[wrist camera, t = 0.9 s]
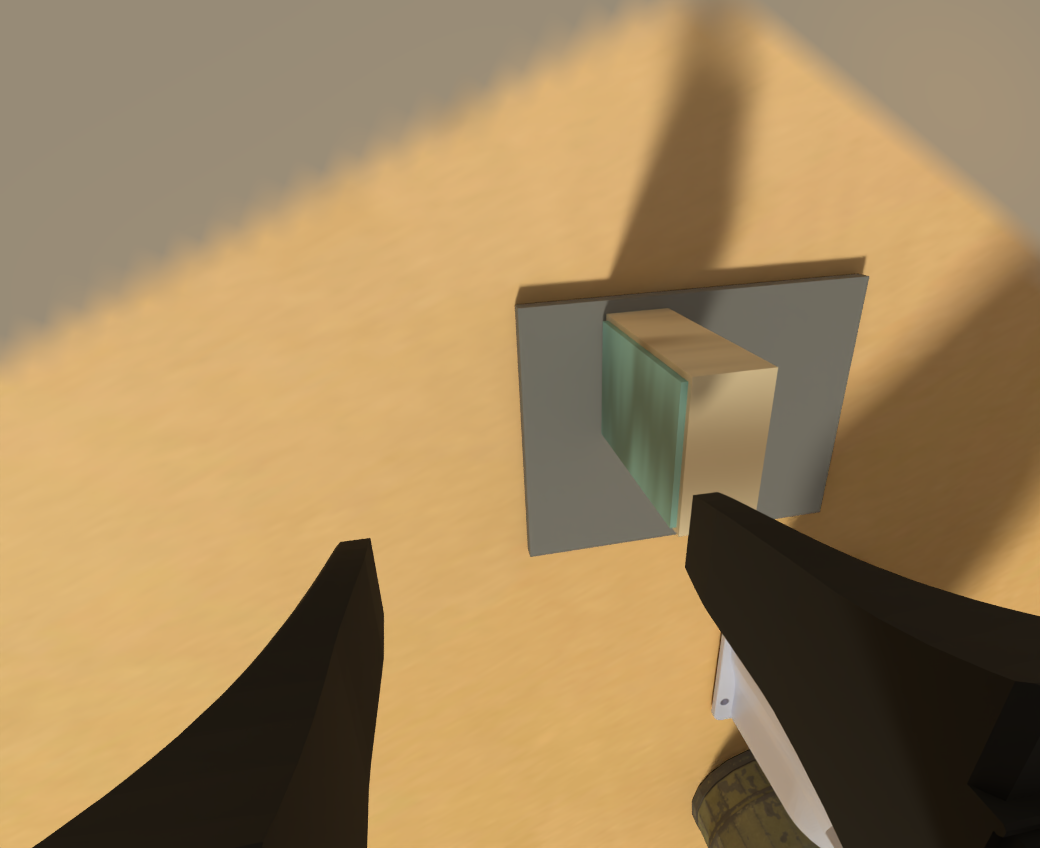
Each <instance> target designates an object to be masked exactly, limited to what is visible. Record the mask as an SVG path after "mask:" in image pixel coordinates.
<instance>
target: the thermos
mask: <svg viewBox="0 0 1040 848" xmlns="http://www.w3.org/2000/svg"><path fill="white" fill-rule="evenodd" d="M692 815H693V817H694V820H695V822H696V824H697V826H698V827H699V829H700V831H701V833H702V835H703V837H704V839H705V842H706V844H707V846H708V848H820V847H819V846H817V845H816V844H815V843H814V842H812V841H811V840H810V839H809V838H808V837H807V836H806V835H805V834H804V833H803V832H802V831H801V830H800V829H799V828H798V827H797V826H796V824H795V823H794V822H793V820H792V819H791V818H790V816H789V815H788V813H787V811H786V810H785V808H784V806H783V805H782V803H781V801H780V799H779V798H778V796H777V794H776V793H775V791H774V789H773V788H772V786H771V784H770V782H769V781H768V779H767V777H766V776H765V774H764V772H763V771H762V769H761V767H760V765H759V764H758V762H757V760H756V759H755V757H754V755H753V753H752V752H751V750H748V751H746V752H744V753H742V754H740V755H738V756H736V757H734V758H732V759H730V760H727V761H726V762H725V763H723V764H722V765H721V766H719V767H718V768H717V769H715V770H714V771H713V772H711V773H710V774H709V776H708V777H707V778H706V779H705V780H704V781H703V783H702V784H701V785H700V786H699V787H698V789H697V792H696V794H695V796H694V798H693V800H692Z"/></svg>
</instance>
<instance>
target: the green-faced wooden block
mask: <svg viewBox="0 0 1040 848" xmlns="http://www.w3.org/2000/svg"><path fill="white" fill-rule="evenodd" d="M777 372H778V367H777V366H775V365H773V364H771V363H769V362H768V361H766V360H764V359H762V358H760V357H758V356H756V355H755V354H753V353H751V352H749V351H747V350H745V349H743V348H742V347H740V346H738V345H736V344H734V343H732V342H730V341H729V340H727V339H725V338H723V337H721V336H719V335H717V334H715V333H714V332H712V331H710V330H708V329H706V328H704V327H702V326H701V325H699V324H697V323H695V322H693V321H691V320H689V319H688V318H686V317H684V316H682V315H680V314H678V313H676V312H675V311H673V310H671V309H669V308H663V309H653V310H642V311H632V312H621V313H611V314H606V321H603V346H602V423H601V434H602V435H603V437H604V438H605V439H606V441H607V442H608V444H609V445H610V446H611V448H612V449H613V451H614V452H615V453H616V455H617V456H618V457H619V459H620V460H621V462H622V463H623V464H624V466H625V467H626V468H627V470H628V471H629V473H630V474H631V475H632V477H633V478H634V479H635V481H636V482H637V484H638V485H639V486H640V488H641V489H642V490H643V492H644V493H645V495H646V496H647V497H648V499H649V500H650V501H651V503H652V504H653V506H654V507H655V508H656V510H657V511H658V513H659V514H660V515H661V517H662V518H663V519H664V521H665V522H666V524H667V525H668V526H669V528H673V530H674V531H675V532H676V534H677V535H678V536H679V537H681V536H687V535H689V526H690V517H691V508H692V499H693V495H698V494H705V493H713V492H720V493H722V494H724V495H727V496H729V497H731V498H733V499H735V500H737V501H739V502H741V503H743V504H745V505H747V506H749V507H751V508H753V509H755V510H757V503H758V497H759V490H760V484H761V477H762V470H763V464H764V457H765V451H766V444H767V438H768V431H769V425H770V418H771V412H772V405H773V398H774V392H775V385H776V379H777Z"/></svg>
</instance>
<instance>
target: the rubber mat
mask: <svg viewBox="0 0 1040 848" xmlns="http://www.w3.org/2000/svg"><path fill="white" fill-rule="evenodd" d="M868 280H869V276H866V275H862V274H849V275H838V276H827V277H816V278H805V279H794V280H783V281H772V282H761V283H750V284H739V285H728V286H717V287H706V288H695V289H684V290H673V291H662V292H651V293H640V294H629V295H618V296H607V297H596V298H585V299H574V300H563V301H552V302H541V303H530V304H519V305H515V317H516V336H517V354H518V373H519V392H520V410H521V429H522V447H523V466H524V485H525V503H526V522H527V541H528V550H529V554H530V557H533V556H540V555H546V554H553V553H559V552H565V551H572V550H578V549H585V548H591V547H598V546H604V545H611V544H617V543H623V542H630V541H636V540H643V539H649V538H656V537H662V536H668V535H675V534H676V532H675V531H674V530H673V528H669V526H668V525H667V524H666V522H665V521H664V519H663V518H662V517H661V515H660V514H659V513H658V511H657V510H656V508H655V507H654V506H653V504H652V503H651V501H650V500H649V499H648V497H647V496H646V495H645V493H644V492H643V490H642V489H641V488H640V486H639V485H638V484H637V482H636V481H635V479H634V478H633V477H632V475H631V474H630V473H629V471H628V470H627V468H626V467H625V466H624V464H623V463H622V462H621V460H620V459H619V457H618V456H617V455H616V453H615V452H614V451H613V449H612V448H611V446H610V445H609V444H608V442H607V441H606V439H605V438H604V437H603V435H602V434H601V423H602V346H603V321H606V314H611V313H621V312H632V311H642V310H653V309H663V308H669V309H671V310H673V311H675V312H676V313H678V314H680V315H682V316H684V317H686V318H688V319H689V320H691V321H693V322H695V323H697V324H699V325H701V326H702V327H704V328H706V329H708V330H710V331H712V332H714V333H715V334H717V335H719V336H721V337H723V338H725V339H727V340H729V341H730V342H732V343H734V344H736V345H738V346H740V347H742V348H743V349H745V350H747V351H749V352H751V353H753V354H755V355H756V356H758V357H760V358H762V359H764V360H766V361H768V362H769V363H771V364H773V365H775V366H777V367H778V372H777V379H776V385H775V392H774V398H773V405H772V412H771V418H770V425H769V431H768V438H767V444H766V451H765V457H764V464H763V470H762V477H761V484H760V490H759V497H758V503H757V511H759V512H761V513H763V514H765V515H767V516H769V517H771V518H773V519H778V518H784V517H791V516H797V515H804V514H810V513H816V512H820V509H821V504H822V499H823V494H824V490H825V485H826V480H827V475H828V471H829V466H830V461H831V456H832V452H833V447H834V442H835V437H836V433H837V428H838V423H839V418H840V414H841V409H842V404H843V399H844V394H845V390H846V385H847V380H848V375H849V371H850V366H851V361H852V356H853V352H854V347H855V342H856V337H857V333H858V328H859V323H860V318H861V313H862V309H863V304H864V299H865V294H866V290H867V285H868Z"/></svg>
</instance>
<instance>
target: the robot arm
mask: <svg viewBox="0 0 1040 848" xmlns="http://www.w3.org/2000/svg"><path fill="white" fill-rule="evenodd" d="M685 568H686V570H687V573H688V575H689V577H690V579H691V581H692V583H693V585H694V588H695V590H696V591H697V593H698V595H699V597H700V599H701V601H702V603H703V605H704V607H705V608H706V610H707V611H708V613H709V615H710V616H711V618H712V619H713V621H714V622H715V624H716V625H717V627H718V628H719V630H720V631H721V633H722V638H721V645H720V652H719V660H718V667H717V674H716V681H715V689H714V696H713V703H712V714H713V716H714V718H715V719H717V720H723V719H728V718H732V719H733V721H734V723H735V724H736V726H737V728H738V730H739V731H740V733H741V735H742V736H743V738H744V740H745V742H746V743H747V745H748V747H749V748H750V750H751V752H752V753H753V755H754V757H755V759H756V760H757V762H758V764H759V765H760V767H761V769H762V771H763V772H764V774H765V776H766V777H767V779H768V781H769V782H770V784H771V786H772V788H773V789H774V791H775V793H776V794H777V796H778V798H779V799H780V801H781V803H782V805H783V806H784V808H785V810H786V811H787V813H788V815H789V816H790V818H791V819H792V820H793V822H794V823H795V824H796V826H797V827H798V828H799V829H800V830H801V831H802V832H803V833H804V834H805V835H806V836H807V837H808V838H809V839H810V840H811V841H812V842H814V843H815V844H816V845H817V846H819V847H820V848H1040V616H1036V615H1032V614H1028V613H1024V612H1019V611H1015V610H1011V609H1007V608H1003V607H999V606H996V605H992V604H988V603H985V602H981V601H977V600H974V599H970V598H967V597H964V596H960V595H957V594H954V593H951V592H947V591H944V590H941V589H938V588H934V587H931V586H928V585H925V584H922V583H919V582H916V581H913V580H911V579H908V578H905V577H902V576H900V575H897V574H895V573H892V572H889V571H887V570H884V569H881V568H879V567H876V566H873V565H871V564H868V563H866V562H864V561H861V560H859V559H856V558H854V557H852V556H850V555H847V554H845V553H843V552H841V551H838V550H836V549H834V548H832V547H830V546H827V545H825V544H823V543H821V542H819V541H817V540H815V539H813V538H810V537H808V536H806V535H804V534H802V533H800V532H798V531H796V530H794V529H792V528H790V527H788V526H786V525H784V524H782V523H780V522H778V521H777V520H775V519H773V518H771V517H769V516H767V515H765V514H763V513H761V512H759V511H757V510H755V509H753V508H751V507H749V506H747V505H745V504H743V503H741V502H739V501H737V500H735V499H733V498H731V497H729V496H727V495H724V494H722V493H720V492H713V493H705V494H698V495H693V499H692V508H691V517H690V526H689V535H688V544H687V553H686V562H685ZM383 660H384V612H383V606H382V601H381V595H380V589H379V584H378V578H377V573H376V567H375V562H374V556H373V550H372V545H371V539H370V538H367V539H360V540H352V541H345V542H340V543H339V544H338V545H337V547H336V548H335V549H334V551H333V553H332V554H331V556H330V558H329V559H328V561H327V562H326V564H325V566H324V567H323V569H322V570H321V572H320V573H319V575H318V576H317V578H316V579H315V581H314V582H313V584H312V586H311V587H310V588H309V590H308V591H307V593H306V594H305V596H304V597H303V598H302V600H301V601H300V603H299V604H298V605H297V607H296V608H295V610H294V611H293V612H292V614H291V615H290V617H289V618H288V619H287V620H286V622H285V623H284V624H283V626H282V627H281V628H280V629H279V631H278V632H277V633H276V634H275V636H274V637H273V638H272V639H271V641H270V642H269V643H268V644H267V646H266V647H265V648H264V649H263V651H262V652H261V653H260V654H259V655H258V656H257V658H256V659H255V660H254V661H253V662H252V663H251V664H250V666H249V667H248V668H247V669H246V670H245V671H244V672H243V673H242V674H241V675H240V677H239V678H238V679H237V680H236V681H235V682H234V683H233V684H232V685H231V686H230V687H229V688H228V689H227V690H226V691H225V692H224V693H223V694H222V695H221V696H220V697H219V698H218V699H217V700H216V701H215V702H214V703H213V704H212V705H211V706H210V707H209V708H208V709H207V710H206V711H204V712H203V713H202V714H201V715H200V716H199V717H198V718H197V719H196V720H195V721H194V722H193V723H192V724H191V725H189V726H188V727H187V728H186V729H185V730H184V731H183V732H182V733H181V734H180V735H179V736H178V737H176V738H175V739H174V740H173V741H172V742H171V743H169V744H168V745H167V746H166V747H165V748H163V749H162V750H161V751H160V752H159V753H158V754H156V755H155V756H154V757H153V758H152V759H150V760H149V761H148V762H147V763H146V764H144V765H143V766H142V767H141V768H139V769H138V770H137V771H136V772H134V773H133V774H132V775H131V776H129V777H128V778H127V779H126V780H124V781H123V782H122V783H121V784H119V785H118V786H117V787H115V788H114V789H113V790H111V791H110V792H109V793H108V794H106V795H105V796H104V797H102V798H101V799H100V800H98V801H97V802H95V803H94V804H93V805H91V806H90V807H88V808H87V809H86V810H84V811H83V812H82V813H80V814H79V815H77V816H76V817H75V818H73V819H72V820H70V821H69V822H68V823H66V824H65V825H64V826H62V827H61V828H59V829H58V830H57V831H55V832H54V833H52V834H51V835H50V836H48V837H47V838H46V839H44V840H43V841H41V842H40V843H38V844H37V845H35V846H34V847H33V848H367V833H368V799H369V781H370V768H371V759H372V751H373V743H374V734H375V726H376V718H377V710H378V702H379V694H380V685H381V677H382V668H383Z"/></svg>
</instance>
